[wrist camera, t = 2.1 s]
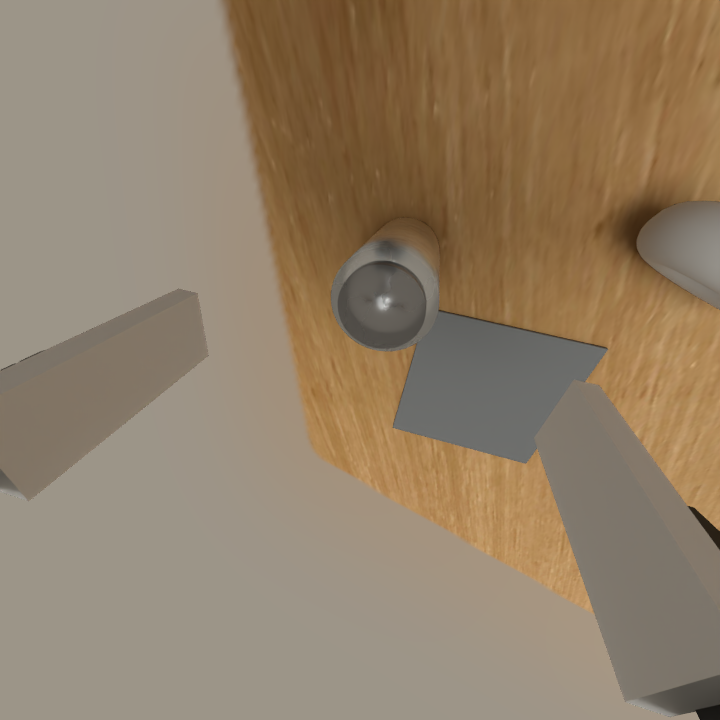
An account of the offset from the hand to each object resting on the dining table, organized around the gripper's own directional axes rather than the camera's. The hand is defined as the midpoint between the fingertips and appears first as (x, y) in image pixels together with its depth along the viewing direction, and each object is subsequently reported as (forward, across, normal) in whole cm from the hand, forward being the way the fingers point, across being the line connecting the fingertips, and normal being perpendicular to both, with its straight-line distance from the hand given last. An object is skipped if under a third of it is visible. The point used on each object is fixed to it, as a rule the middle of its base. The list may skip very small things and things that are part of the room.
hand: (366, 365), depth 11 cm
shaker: (+17, 0, 0) cm, 17 cm away
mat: (+17, +10, -12) cm, 23 cm away
